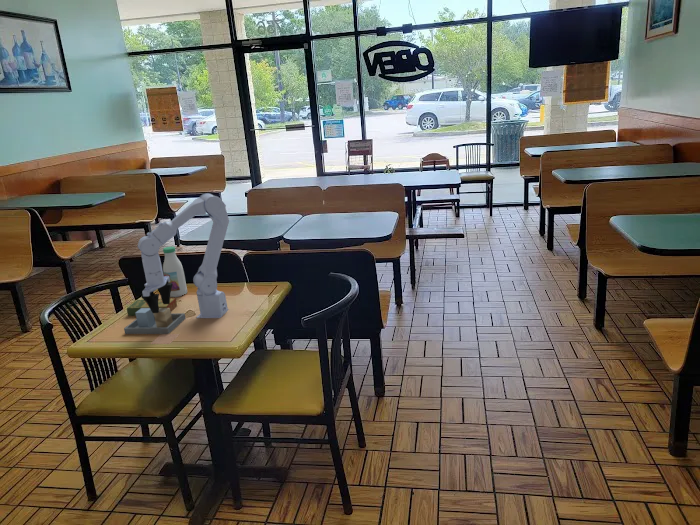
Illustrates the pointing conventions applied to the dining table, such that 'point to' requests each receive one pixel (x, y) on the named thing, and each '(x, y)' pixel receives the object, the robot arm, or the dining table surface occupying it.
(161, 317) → the oak block
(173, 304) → the carton
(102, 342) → the dining table surface
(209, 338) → the dining table surface
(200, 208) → the robot arm
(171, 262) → the milk bottle
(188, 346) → the dining table surface
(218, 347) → the dining table surface
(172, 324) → the parts tray
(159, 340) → the terracotta pad
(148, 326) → the slate block
